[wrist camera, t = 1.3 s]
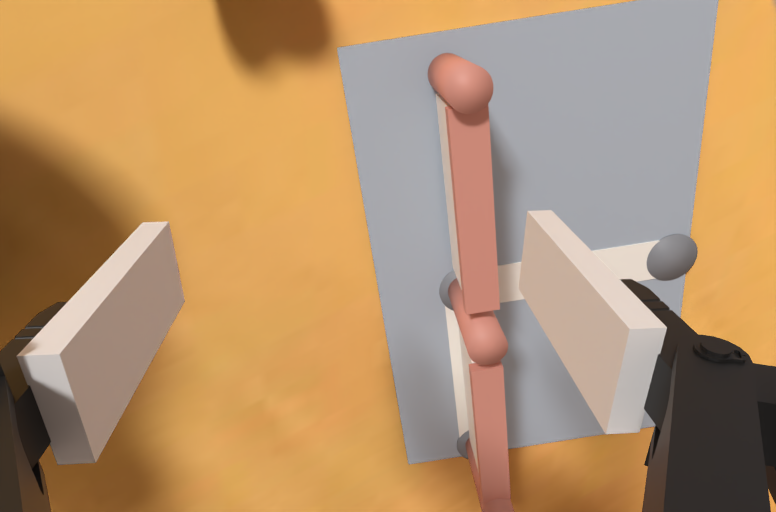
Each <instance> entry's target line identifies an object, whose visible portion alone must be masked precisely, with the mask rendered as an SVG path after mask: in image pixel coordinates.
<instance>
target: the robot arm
mask: <svg viewBox="0 0 776 512" xmlns="http://www.w3.org/2000/svg"><path fill="white" fill-rule="evenodd" d="M518 289H519V290H520V292H521V294H522V295H523V297H524V299H525V300H526V302H527V304H528V305H529V307H530V309H531V310H532V312H533V314H534V315H535V317H536V319H537V320H538V322H539V324H540V325H541V327H542V329H543V330H544V332H545V334H546V335H547V337H548V339H549V340H550V342H551V344H552V345H553V347H554V349H555V350H556V352H557V354H558V355H559V357H560V359H561V360H562V362H563V364H564V365H565V367H566V369H567V370H568V372H569V374H570V375H571V377H572V379H573V380H574V382H575V384H576V385H577V387H578V389H579V390H580V392H581V394H582V395H583V397H584V399H585V400H586V402H587V404H588V406H589V407H590V409H591V411H592V412H593V414H594V416H595V417H596V419H597V421H598V422H599V424H600V426H601V427H602V429H603V431H604V432H605V434H620V433H638V432H640V428H641V424H642V421H643V417H644V413H645V411H646V412H647V414H648V415H649V416H650V418H651V419H652V421H653V422H654V423H655V428H654V432H653V436H652V439H651V443H650V446H649V450H648V453H647V457H646V461H645V464H644V465H646V466H648V470H647V478H646V486H645V493H644V501H643V509H642V512H771V510H770V501H769V493H768V489H769V491H770V493H771V495H772V497H773V500H774V502H775V504H776V367H774V366H767V365H761V364H754V363H752V360H751V358H750V356H749V355H748V354H747V353H746V352H745V351H744V350H742V349H741V348H740V347H738V346H736V345H734V344H732V343H730V342H729V341H726V340H723V339H720V338H717V337H713V336H706V335H698V334H697V333H696V332H695V331H694V330H692V329H691V328H690V327H689V326H688V325H687V324H686V323H685V322H684V321H683V320H682V319H681V318H680V317H679V316H678V315H677V314H676V313H674V312H673V311H672V310H670V308H669V307H668V306H667V305H666V304H665V303H664V302H663V301H660V298H659V297H658V296H657V295H655V294H654V293H653V292H652V291H651V290H650V289H649V288H647V287H646V286H644V285H642V284H640V283H638V282H636V281H634V280H632V279H619V278H618V277H617V276H616V275H615V274H614V273H613V272H612V271H611V270H610V269H609V268H608V267H607V266H606V265H605V264H604V263H603V262H602V261H601V260H600V259H599V258H598V257H597V256H596V255H595V254H594V253H593V252H592V251H591V250H590V249H589V248H588V247H587V246H586V245H585V244H584V243H583V242H582V241H581V240H580V239H579V238H578V237H577V236H576V235H575V234H574V233H573V232H572V230H571V229H570V228H569V227H568V226H567V225H566V224H565V223H564V222H563V221H562V220H561V219H560V218H559V217H558V216H557V215H556V214H555V213H554V212H553V211H552V210H538V211H527V218H526V227H525V235H524V244H523V253H522V261H521V270H520V279H519V287H518ZM184 302H185V300H184V295H183V290H182V285H181V280H180V275H179V270H178V265H177V260H176V255H175V250H174V245H173V240H172V235H171V230H170V225H169V222H143V223H142V224H141V225H140V226H139V227H138V228H137V229H136V230H135V231H134V232H133V233H132V234H131V235H130V236H129V237H128V238H127V239H126V241H125V242H124V243H123V244H122V245H121V246H120V247H119V248H118V249H117V250H116V251H115V252H114V253H113V254H112V255H111V256H110V258H109V259H108V260H107V261H106V262H105V263H104V264H103V265H102V266H101V267H100V268H99V269H98V270H97V271H96V272H95V273H94V274H93V276H92V277H91V278H90V279H89V280H88V281H87V282H86V283H85V284H84V285H83V286H82V287H81V288H80V289H79V290H78V291H77V293H76V294H75V295H74V296H73V297H72V298H71V299H70V300H69V301H68V302H57V303H56V304H54V305H52V306H50V307H49V308H47V309H45V310H44V311H42V312H40V313H38V314H37V315H36V316H35V317H34V318H33V319H32V320H31V321H30V322H29V323H28V324H27V325H26V326H25V329H22V330H21V331H20V332H19V333H18V334H17V335H16V336H15V339H12V340H11V341H10V342H9V343H8V344H7V345H6V346H5V347H4V348H3V349H2V350H1V351H0V512H51V508H50V503H49V497H48V492H47V486H46V481H45V476H44V472H43V470H42V467H41V465H40V462H39V459H40V457H41V456H42V454H43V453H44V451H45V450H46V449H47V447H48V446H49V444H50V446H51V448H52V451H53V454H54V456H55V459H56V462H57V464H58V465H65V464H83V463H96V461H97V460H98V458H99V456H100V454H101V452H102V451H103V449H104V447H105V445H106V443H107V441H108V440H109V438H110V436H111V434H112V432H113V431H114V429H115V427H116V425H117V423H118V422H119V420H120V418H121V416H122V414H123V412H124V411H125V409H126V407H127V405H128V403H129V402H130V400H131V398H132V396H133V394H134V392H135V391H136V389H137V387H138V385H139V383H140V382H141V380H142V378H143V376H144V374H145V372H146V371H147V369H148V367H149V365H150V363H151V362H152V360H153V358H154V356H155V354H156V352H157V351H158V349H159V347H160V345H161V343H162V342H163V340H164V338H165V336H166V334H167V333H168V331H169V329H170V327H171V325H172V323H173V322H174V320H175V318H176V316H177V314H178V313H179V311H180V309H181V307H182V305H183V303H184Z"/></svg>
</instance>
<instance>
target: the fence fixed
mask: <svg viewBox="0 0 776 512" xmlns="http://www.w3.org/2000/svg"><path fill="white" fill-rule="evenodd" d="M448 296H449V298H450V301H451V304H452V307H453V310H454V313H455V316H456V319H457V322H458V326H459V336H460V346H461V357H462V367H463V377H464V387H465V397H466V407H467V417H468V427H469V437H470V438H469V439H468V440H467V441H466V444H465V447H466V451H467V455H468V459H469V462H470V466H471V470H472V474H473V478H474V482H475V485H476V489H477V493H478V497H479V501H480V505H481V508H482V512H514V509H513V506H512V503H511V500H510V499H511V494H510V476H509V458H508V441H507V423H506V405H505V388H504V370H503V365H502V363H501V359H502V358H503V357H504V356H505V355H506V353H507V350H508V342H507V339H506V337H505V335H504V333H503V331H502V329H501V327H500V324H499V322H498V320H497V318H496V316H495V314H494V312H493V311H486V312H480V313H474V314H467V315H466V313H465V310H464V308H463V298H462V290H461V287H460V285H459V282H458V279H457V278H456V279H454V280H453V281H452V282H451V283H450V285H449V288H448Z"/></svg>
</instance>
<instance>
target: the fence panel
mask: <svg viewBox="0 0 776 512" xmlns="http://www.w3.org/2000/svg"><path fill="white" fill-rule="evenodd" d="M428 80H429V83H430V85H431V86H432V87H433V88H434V89H435V90H436V91H437V92H438V94H436V104H437V114H438V124H439V134H440V144H441V154H442V164H443V174H444V185H445V195H446V205H447V215H448V225H449V235H450V245H451V255H452V265H453V269H454V272H455V274H456V277H457V279H458V282H459V285H460V287H461V290H462V298H463V308H464V310H465V313H466V315H467V314H474V313H480V312H486V311H493V310H499V309H500V300H499V282H498V264H497V247H496V229H495V212H494V194H493V176H492V159H491V141H490V123H489V106H488V103H489V102H490V100H491V98H492V95H493V81H492V78H491V76H490V74H489V73H488V72H487V71H486V70H485V69H484V68H482V67H480V66H478V65H476V64H474V63H472V62H470V61H467V60H465V59H463V58H461V57H459V56H457V55H455V54H452V53H443V54H440V55H438V56H437V57H435V58H434V59H433V60H432V62H431V63H430V65H429V68H428Z"/></svg>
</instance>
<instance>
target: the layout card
mask: <svg viewBox="0 0 776 512" xmlns="http://www.w3.org/2000/svg"><path fill="white" fill-rule="evenodd" d="M717 8H718V0H636V1H630V2H624V3H617V4H611V5H605V6H598V7H592V8H586V9H579V10H573V11H567V12H560V13H554V14H548V15H541V16H535V17H529V18H522V19H516V20H510V21H503V22H497V23H491V24H484V25H478V26H472V27H465V28H459V29H453V30H446V31H440V32H433V33H427V34H421V35H414V36H408V37H402V38H395V39H389V40H383V41H376V42H370V43H364V44H357V45H351V46H345V47H338V48H337V51H338V57H339V63H340V69H341V74H342V80H343V86H344V92H345V98H346V104H347V109H348V115H349V121H350V127H351V133H352V138H353V144H354V150H355V156H356V162H357V167H358V173H359V179H360V185H361V191H362V197H363V202H364V208H365V214H366V220H367V226H368V231H369V237H370V243H371V249H372V255H373V260H374V266H375V272H376V278H377V284H378V290H379V295H380V301H381V307H382V313H383V319H384V324H385V330H386V336H387V342H388V348H389V353H390V359H391V365H392V371H393V377H394V383H395V388H396V394H397V400H398V406H399V412H400V417H401V423H402V429H403V435H404V441H405V446H406V452H407V458H408V464H415V463H422V462H428V461H435V460H441V459H447V458H454V457H460V456H463V457H464V458H466V459H468V455H467V451H466V447H465V444H466V441H467V440H468V439H469V438H470V437H469V427H468V417H467V407H466V397H465V387H464V377H463V367H462V357H461V346H460V336H459V326H458V322H457V319H456V316H455V313H454V310H453V307H452V304H451V301H450V298H449V296H448V288H449V285H450V283H451V282H452V281H453V280H454V279H456V278H457V277H456V274H455V272H454V269H453V265H452V255H451V245H450V235H449V225H448V215H447V205H446V195H445V185H444V174H443V164H442V154H441V144H440V134H439V124H438V114H437V104H436V94H438V92H437V91H436V90H435V89H434V88H433V87H432V86H431V85H430V83H429V80H428V68H429V65H430V63H431V62H432V60H433V59H434V58H435V57H437V56H438V55H440V54H443V53H452V54H455V55H457V56H459V57H461V58H463V59H465V60H467V61H470V62H472V63H474V64H476V65H478V66H480V67H482V68H484V69H485V70H486V71H487V72H488V73H489V74H490V76H491V78H492V81H493V95H492V98H491V100H490V102H489V103H488V106H489V123H490V141H491V159H492V176H493V194H494V212H495V229H496V247H497V264H498V282H499V300H500V309H499V310H493V312H494V314H495V316H496V318H497V320H498V322H499V324H500V327H501V329H502V331H503V333H504V335H505V337H506V339H507V342H508V350H507V353H506V355H505V356H504V357H503V358H502V359H501V363H502V365H503V370H504V388H505V405H506V423H507V441H508V449H512V448H518V447H525V446H531V445H538V444H544V443H551V442H557V441H563V440H570V439H576V438H583V437H589V436H596V435H602V434H605V432H604V431H603V429H602V427H601V426H600V424H599V422H598V421H597V419H596V417H595V416H594V414H593V412H592V411H591V409H590V407H589V406H588V404H587V402H586V400H585V399H584V397H583V395H582V394H581V392H580V390H579V389H578V387H577V385H576V384H575V382H574V380H573V379H572V377H571V375H570V374H569V372H568V370H567V369H566V367H565V365H564V364H563V362H562V360H561V359H560V357H559V355H558V354H557V352H556V350H555V349H554V347H553V345H552V344H551V342H550V340H549V339H548V337H547V335H546V334H545V332H544V330H543V329H542V327H541V325H540V324H539V322H538V320H537V319H536V317H535V315H534V314H533V312H532V310H531V309H530V307H529V305H528V304H527V302H526V300H525V299H524V297H523V295H522V294H521V292H520V290H519V289H518V287H519V279H520V270H521V261H522V253H523V244H524V235H525V227H526V218H527V211H538V210H552V211H553V212H554V213H555V214H556V215H557V216H558V217H559V218H560V219H561V220H562V221H563V222H564V223H565V224H566V225H567V226H568V227H569V228H570V229H571V230H572V232H573V233H574V234H575V235H576V236H577V237H578V238H579V239H580V240H581V241H582V242H583V243H584V244H585V245H586V246H587V247H588V248H589V249H590V250H591V251H592V252H593V253H594V254H595V255H596V256H597V257H598V258H599V259H600V260H601V261H602V262H603V263H604V264H605V265H606V266H607V267H608V268H609V269H610V270H611V271H612V272H613V273H614V274H615V275H616V276H617V277H618V278H619V279H632V280H634V281H636V282H638V283H640V284H642V285H644V286H646V287H647V288H649V289H650V290H651V291H652V292H653V293H654V294H655V295H657V296H658V297H659V298H660V301H663V302H664V303H665V304H666V305H667V306H668V307H669V308H670V310H672V311H673V312H674V313H676V314H677V315H678V316H679V317H680V316H681V307H682V299H683V291H684V282H685V274H686V272H687V271H688V270H689V269H690V268H691V267H692V266H693V264H694V262H695V260H696V257H697V246H696V244H695V242H694V241H693V240H692V239H691V238H690V232H691V224H692V216H693V208H694V199H695V191H696V183H697V174H698V166H699V158H700V149H701V141H702V133H703V124H704V116H705V108H706V99H707V91H708V83H709V74H710V66H711V58H712V49H713V41H714V33H715V24H716V16H717ZM654 426H655V423H654V422H653V421H652V419H651V418H650V416H649V415H648V414H647V412H646V411H645V413H644V417H643V421H642V424H641V428H647V427H654ZM641 428H640V429H641Z"/></svg>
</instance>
